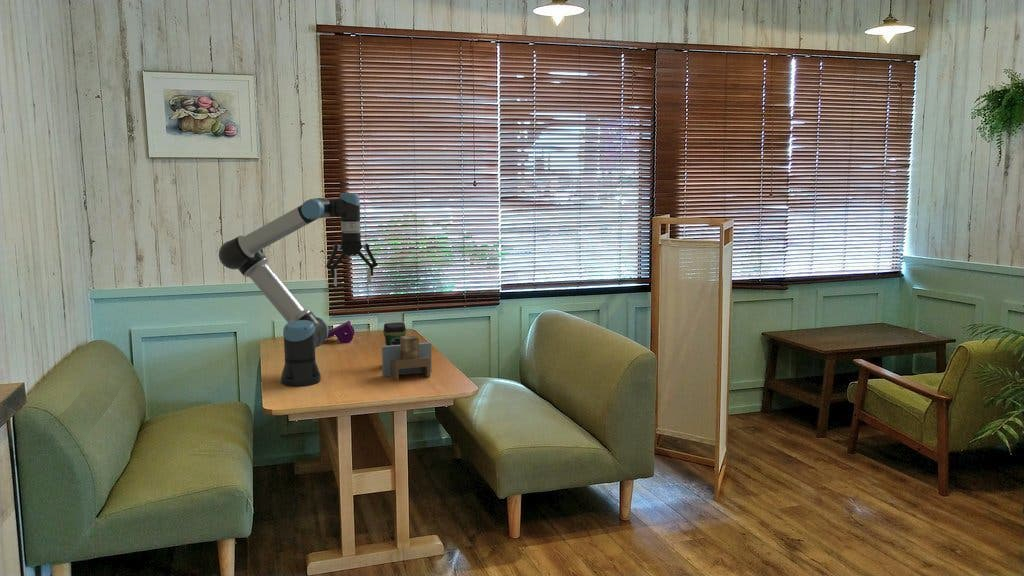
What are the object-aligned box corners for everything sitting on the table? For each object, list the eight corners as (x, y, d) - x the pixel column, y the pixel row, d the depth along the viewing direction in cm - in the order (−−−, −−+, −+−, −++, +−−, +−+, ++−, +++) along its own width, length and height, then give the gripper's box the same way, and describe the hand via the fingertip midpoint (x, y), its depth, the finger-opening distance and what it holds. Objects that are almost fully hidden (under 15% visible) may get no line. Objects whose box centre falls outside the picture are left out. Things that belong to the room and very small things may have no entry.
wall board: (388, 381, 308) (387, 351, 306) (382, 375, 317) (381, 346, 316) (437, 376, 315) (437, 347, 313) (430, 370, 325) (429, 342, 323)
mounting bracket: (322, 355, 381) (356, 338, 382) (314, 340, 379) (348, 323, 380) (324, 351, 390) (357, 335, 391) (316, 336, 388) (349, 320, 389)
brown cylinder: (404, 363, 311) (403, 339, 309) (400, 360, 316) (400, 336, 315) (419, 362, 313) (418, 338, 312) (415, 359, 319) (414, 335, 317)
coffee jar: (405, 362, 340) (404, 320, 337) (408, 366, 332) (407, 323, 330) (382, 364, 337) (381, 321, 334) (386, 368, 329) (384, 324, 327)
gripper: (320, 233, 303) (322, 287, 306) (384, 231, 313) (385, 284, 315) (317, 232, 310) (319, 285, 313) (379, 230, 319) (381, 282, 322)
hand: (352, 285), depth 314 cm, fingers open, 13 cm apart
